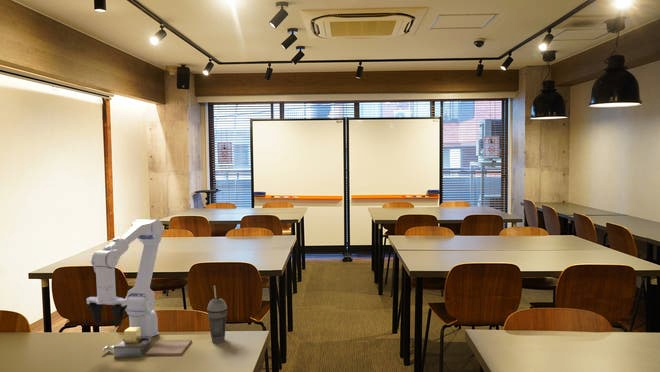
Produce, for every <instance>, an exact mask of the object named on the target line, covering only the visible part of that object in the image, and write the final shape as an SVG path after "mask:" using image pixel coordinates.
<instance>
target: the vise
mask: <svg viewBox="0 0 660 372" xmlns="http://www.w3.org/2000/svg"><path fill="white" fill-rule="evenodd" d="M151 347H152V337H151V336H141V343H140V344H125V343H124V337H123V338H122V341H121V342H120V343H115V345H111V344H107V345H105V347H103V348H102V349H101V352H102V353H104V352H106V351H109V350H111V351H113V357H114V358H142V357H143V356H144V354H146V353H147V352H148V351H149V350H150V348H151Z"/></svg>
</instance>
